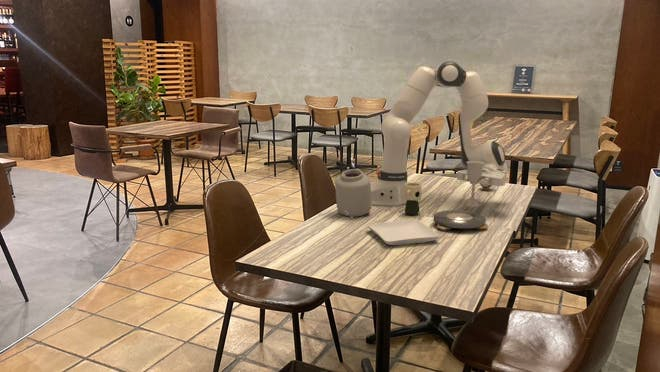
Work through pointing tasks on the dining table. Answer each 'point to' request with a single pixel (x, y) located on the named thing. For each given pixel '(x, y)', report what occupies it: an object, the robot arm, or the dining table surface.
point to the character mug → (412, 197)
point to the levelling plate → (459, 220)
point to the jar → (353, 193)
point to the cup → (485, 187)
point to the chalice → (474, 178)
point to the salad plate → (403, 232)
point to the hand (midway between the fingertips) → (473, 180)
